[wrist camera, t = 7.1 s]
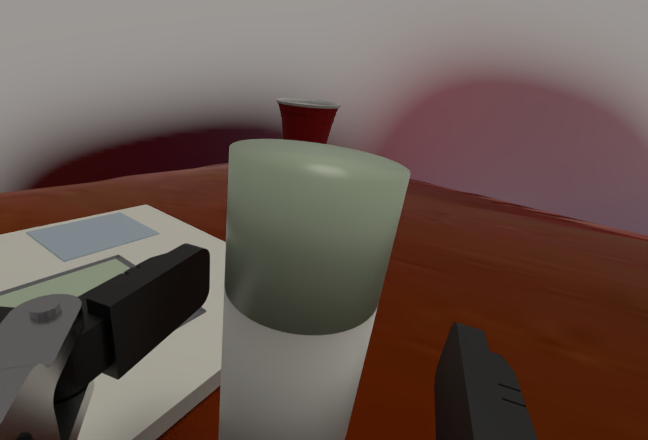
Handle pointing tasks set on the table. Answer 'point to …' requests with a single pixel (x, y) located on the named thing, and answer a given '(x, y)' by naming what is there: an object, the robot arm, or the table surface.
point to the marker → (302, 284)
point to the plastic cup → (307, 119)
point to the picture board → (100, 266)
